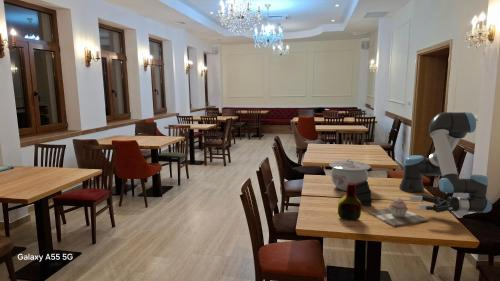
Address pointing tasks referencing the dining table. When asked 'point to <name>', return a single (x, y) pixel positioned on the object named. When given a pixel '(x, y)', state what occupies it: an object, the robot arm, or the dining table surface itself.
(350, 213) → the bottle
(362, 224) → the dining table surface
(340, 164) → the chamber pot
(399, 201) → the cupcake
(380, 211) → the checkered cloth napkin
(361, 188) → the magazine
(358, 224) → the dining table surface
